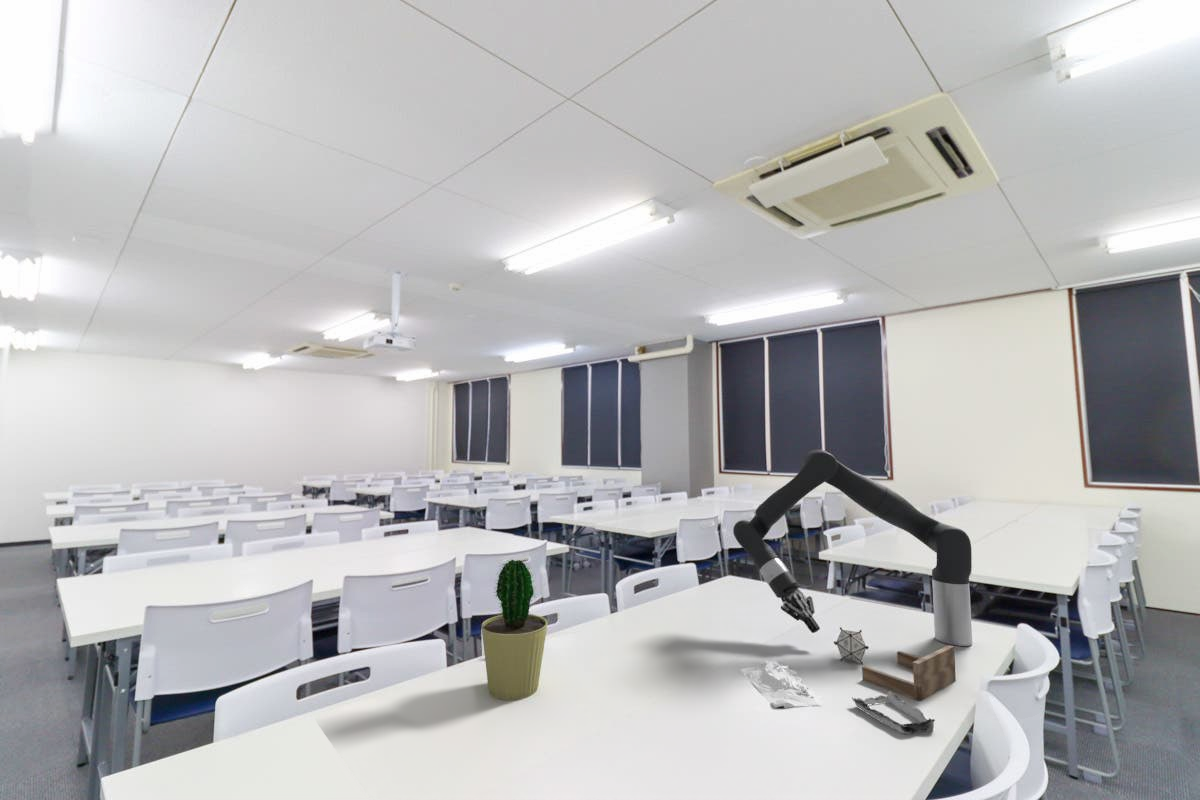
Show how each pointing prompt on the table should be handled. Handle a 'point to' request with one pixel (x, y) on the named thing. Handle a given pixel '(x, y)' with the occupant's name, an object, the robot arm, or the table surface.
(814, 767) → the table surface
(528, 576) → the potted cactus
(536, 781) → the table surface
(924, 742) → the table surface
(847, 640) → the game die
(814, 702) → the terrain model
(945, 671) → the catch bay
